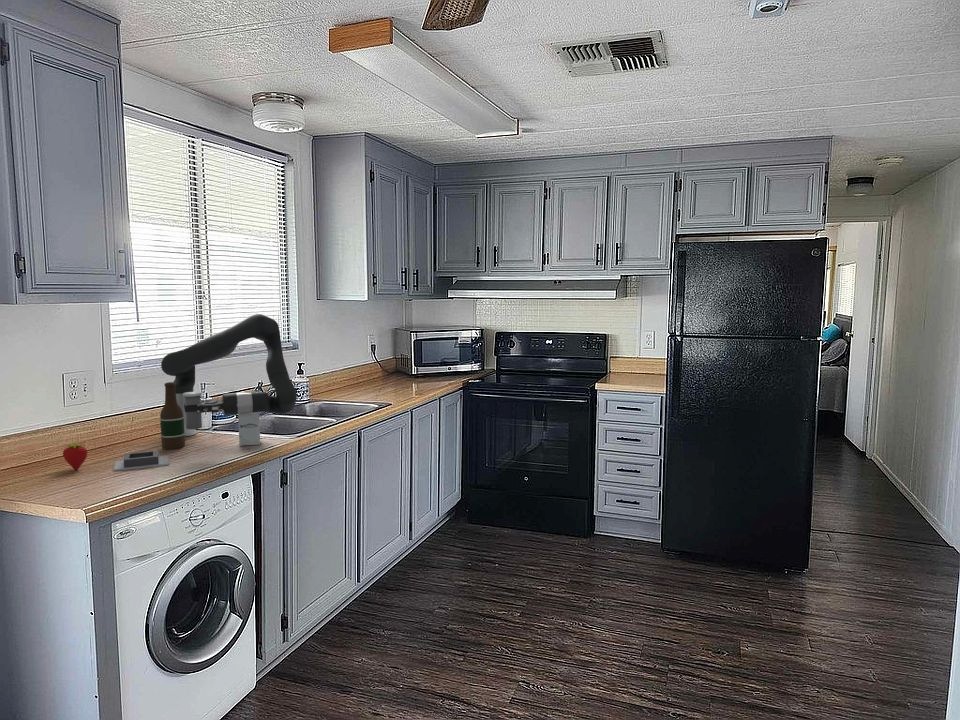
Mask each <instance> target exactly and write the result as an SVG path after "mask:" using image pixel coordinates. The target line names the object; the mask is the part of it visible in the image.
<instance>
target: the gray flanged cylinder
mask: <svg viewBox="0 0 960 720" xmlns="http://www.w3.org/2000/svg"><path fill="white" fill-rule="evenodd" d="M202 393H203V392H202V391H194V392H187V393H183V396H184V398H185V406H186V405H197V404H201V400H202V399H201V396H202ZM185 415H186V429H196V430H198V429H202V428H203V419H202V413H200V412H197V411H195V412H185Z"/></svg>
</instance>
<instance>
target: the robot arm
mask: <svg viewBox="0 0 960 720" xmlns="http://www.w3.org/2000/svg"><path fill="white" fill-rule="evenodd" d="M248 339H256V340H259V341H261V342H263V343H264V346H265V348H266V350H267V358H266V363H265V370H266V374H267V377H268V381H269V383H270V386H271V387H272V388H273V389H274V390H275V396H274V395H273V396H272V395H269V394H268V392H266V391H257V392H256V391H255V392H254V391H253V392H242V391H241V392H232V393H231V392H230V393H223V394H222V397H221V400H218V399H217V398H213V399H210V398H209V399H204V400H203V399H201V404H197V405H186V406H185V398H184V396H183V393H187V392H195V390H194V387H195V384H196V365H201V364H206V363H209V362H213V361H217V360H219V359H222V358H225V357H227V356H229V355H230V354H233V352H234V351H235V350H236V347H237V346H238V344H239V343H241V342H243V341H246V340H248ZM160 368H161V371H162V372H163V373H165V374H166V375H168V376H171V377H175V378H174V380H173V382H174V383H175V384H176V385H175V391H176V399H177V403H178V405H179V406H180V408H181V409H182V411H183V417H184V434H185V437H189V436H194V435H196V434H197V431H196V430H197V429H186V415H185V412H195V411H197V412H200V413H201V414H203V413H219V411H221V410H222V412H223V415H224V416H235V415H237V416H238V414H247V413H252V412H259V413H261V412H262V413H263V412H266V413H271V414H286V413H290V412H291V411H293V410H294V409H295V407H296V402H297V399H298V393H297V391H296V388H295V385H294V384H293V381H292V380H291V378H290V375H289V372H288V369H287V366H286V362H285V359H284V354H283V347H282V340H281V332H280V325H279V323H278V322H277V320H275V319H274V318H271V317H269V316H267V315H264V314H262V313H254V314H252V315H250V316H248V317H247V318H245V319H243V320H241V321H240V322H238V323H236V324H235V325H233V326H231V327H230V326H229V328H227V329H225V330H222V331H220V332H217V333H215V334H212V335H210V336H209V337H206V338H203V339H202V340H200V341H198V342H196V343H194V344H192V345H190V346H187V348H184V349H180V350H178V351H174V352H170V353H168V354H166V355H165V356H163V358H162V360H161V363H160Z"/></svg>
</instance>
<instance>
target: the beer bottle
mask: <svg viewBox="0 0 960 720" xmlns="http://www.w3.org/2000/svg"><path fill="white" fill-rule="evenodd" d="M163 385H164V389H165V390H164V393H165V396H164V398H165V399H164V400H165V401H164V405H163V407H162V409H161V411H160V415H159V416H160V417H159V420H160V421H159V422H160V423H159V424H160V439H161V447H162V449H163V450H166V451H167V450H178V449H182V448H184V447H185V446H186V436H185V434H184V417H183V411H182V409H181V408H180V406H179V405H178V403H177V399H176V391H175V385H176V384H175V383H174V381H168V382H165V383H164V384H163Z"/></svg>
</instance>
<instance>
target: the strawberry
mask: <svg viewBox="0 0 960 720" xmlns="http://www.w3.org/2000/svg"><path fill="white" fill-rule="evenodd" d="M77 440H78V438H76V439H75V442H77ZM62 456H63V459H64V460H65V462H66V463H68V465H70V467H71V468H72V469H73V470H75V469H77V470H79V469H80V467H81V466H82V465H83V464H84V462H85V460H86V459H87V456H88V449H87V448H86V445H85V444H84V443H83V442H82V443H81V442H80V443H75V444H73V443H72V444H66V448H65V449H64V450H63V451H62Z"/></svg>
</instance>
